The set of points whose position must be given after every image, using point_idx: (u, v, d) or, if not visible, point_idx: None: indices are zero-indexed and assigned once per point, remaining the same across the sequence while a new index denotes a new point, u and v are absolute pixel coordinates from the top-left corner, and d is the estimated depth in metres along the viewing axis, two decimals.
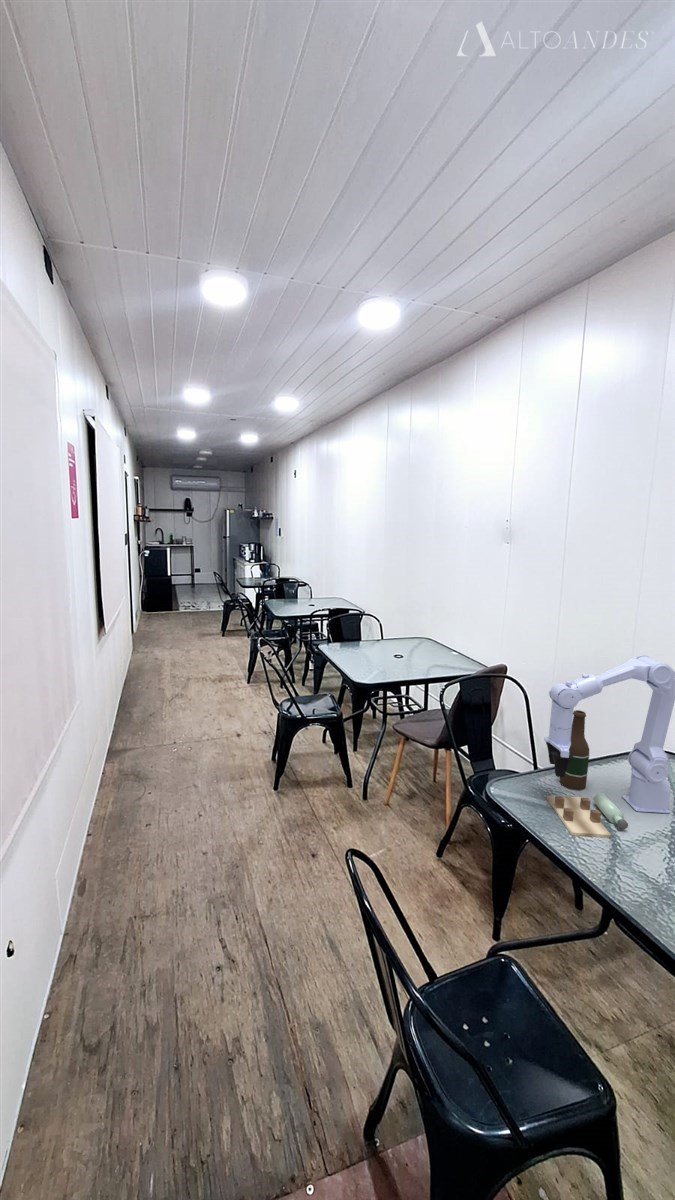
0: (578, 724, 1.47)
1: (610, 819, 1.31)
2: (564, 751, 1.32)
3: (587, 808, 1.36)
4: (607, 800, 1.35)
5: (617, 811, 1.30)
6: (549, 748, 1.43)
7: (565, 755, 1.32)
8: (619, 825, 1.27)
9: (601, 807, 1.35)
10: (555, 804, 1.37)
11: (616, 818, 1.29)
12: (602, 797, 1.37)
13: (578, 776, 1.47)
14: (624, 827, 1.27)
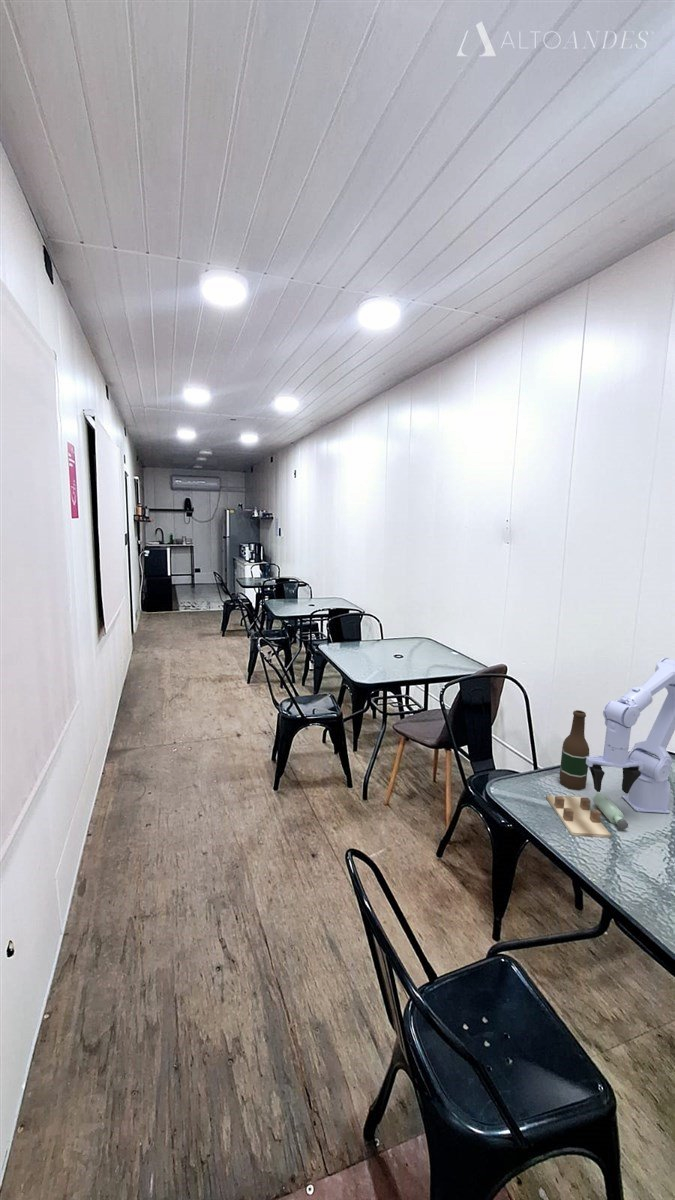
0: (578, 724, 1.47)
1: (610, 819, 1.31)
2: (587, 758, 1.33)
3: (587, 808, 1.36)
4: (607, 800, 1.35)
5: (617, 811, 1.30)
6: (623, 773, 1.34)
7: (587, 763, 1.33)
8: (619, 825, 1.27)
9: (601, 807, 1.35)
10: (555, 804, 1.37)
11: (616, 818, 1.29)
12: (602, 797, 1.37)
13: (578, 776, 1.47)
14: (624, 827, 1.27)
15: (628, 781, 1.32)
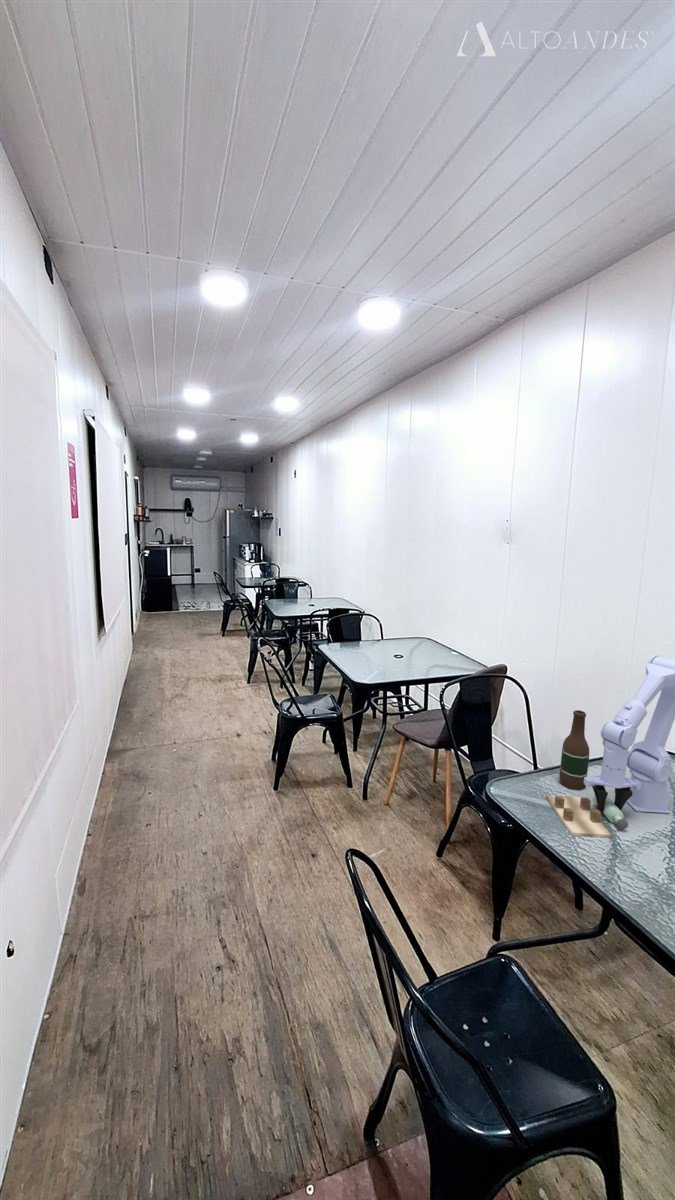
0: (578, 724, 1.47)
1: (610, 819, 1.31)
2: (585, 778, 1.34)
3: (587, 808, 1.36)
4: (607, 800, 1.35)
5: (617, 811, 1.30)
6: (615, 792, 1.35)
7: (585, 783, 1.34)
8: (619, 825, 1.27)
9: None
10: (555, 804, 1.37)
11: (616, 818, 1.29)
12: None
13: (578, 776, 1.47)
14: (624, 827, 1.27)
15: (620, 801, 1.33)
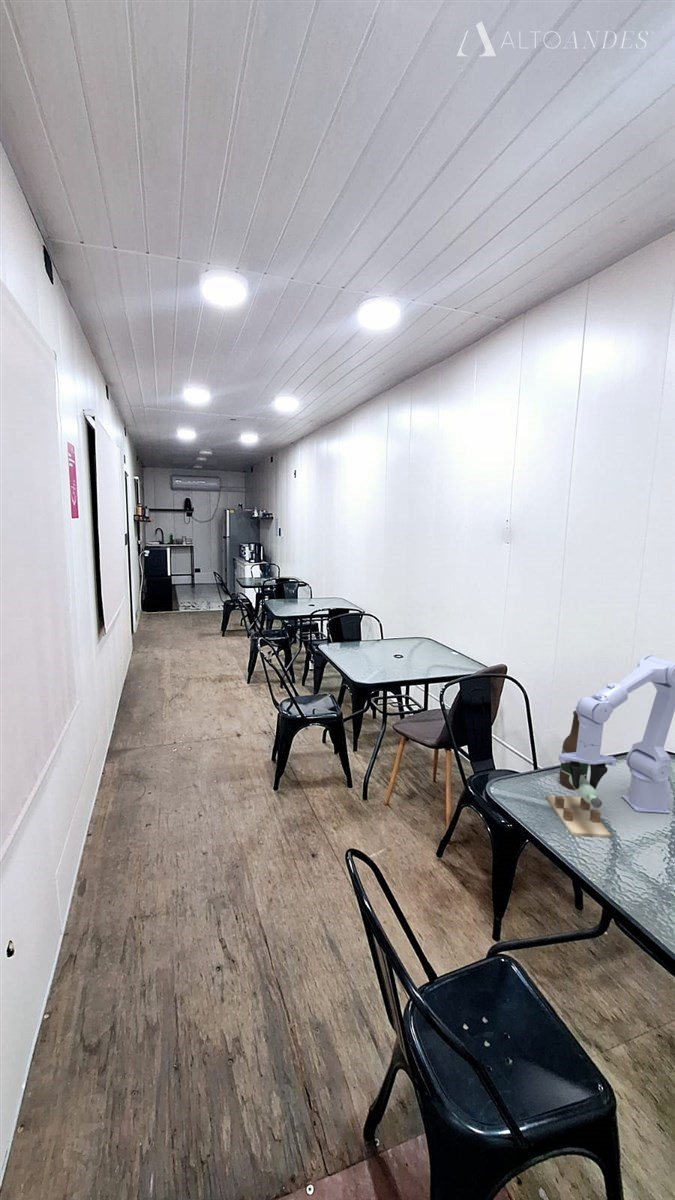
0: (578, 724, 1.47)
1: (584, 798, 1.29)
2: (560, 755, 1.32)
3: (587, 808, 1.36)
4: (582, 779, 1.33)
5: (591, 790, 1.28)
6: (591, 769, 1.33)
7: (560, 759, 1.32)
8: (593, 803, 1.25)
9: None
10: (555, 804, 1.37)
11: (590, 796, 1.27)
12: None
13: None
14: (598, 805, 1.25)
15: (595, 777, 1.31)
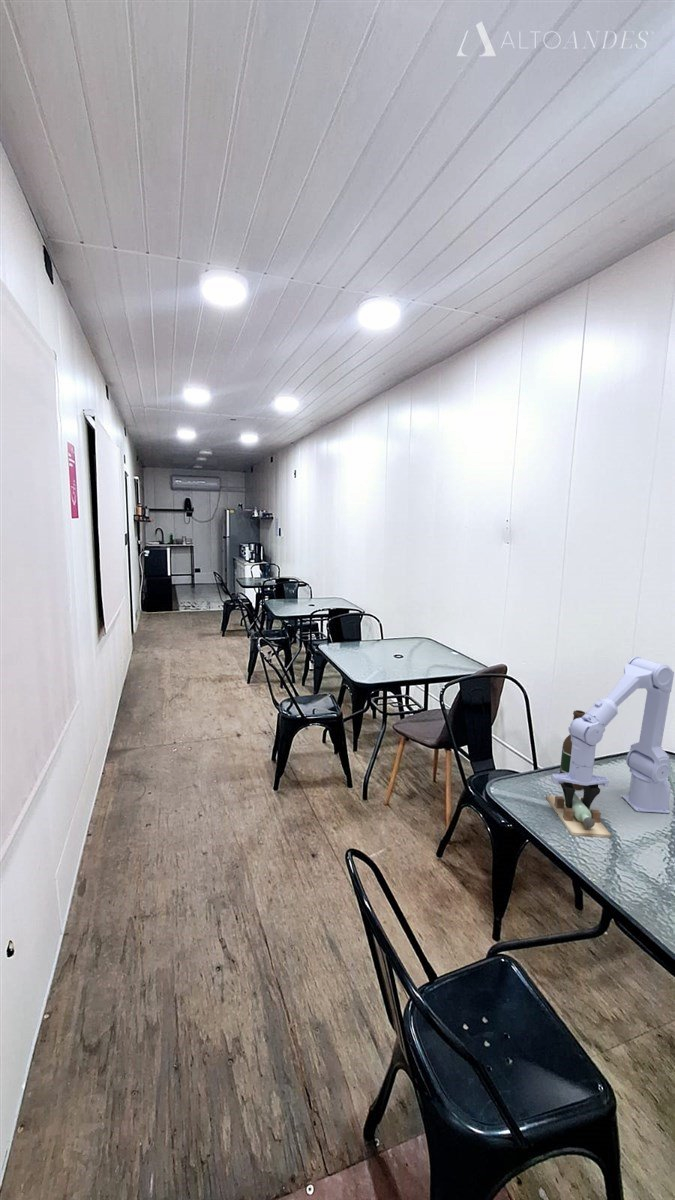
0: None
1: (577, 817, 1.30)
2: (553, 776, 1.33)
3: None
4: (576, 798, 1.34)
5: (584, 809, 1.29)
6: (584, 789, 1.34)
7: (553, 780, 1.33)
8: (585, 823, 1.26)
9: None
10: (555, 804, 1.37)
11: (583, 816, 1.28)
12: None
13: None
14: (590, 825, 1.26)
15: (588, 798, 1.32)
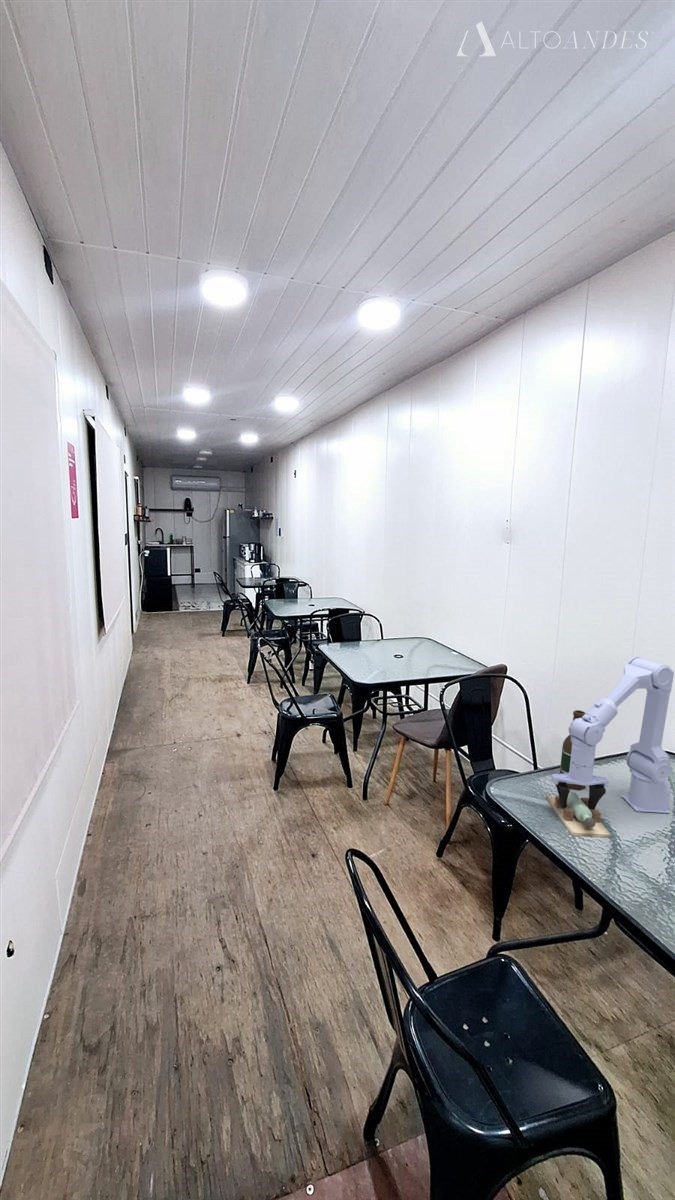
0: None
1: (578, 817, 1.29)
2: (553, 776, 1.33)
3: None
4: (577, 798, 1.34)
5: (586, 809, 1.29)
6: (589, 790, 1.34)
7: (553, 780, 1.33)
8: (586, 823, 1.26)
9: (570, 804, 1.34)
10: (555, 804, 1.37)
11: (584, 816, 1.28)
12: (573, 795, 1.36)
13: None
14: (591, 825, 1.26)
15: (594, 799, 1.32)
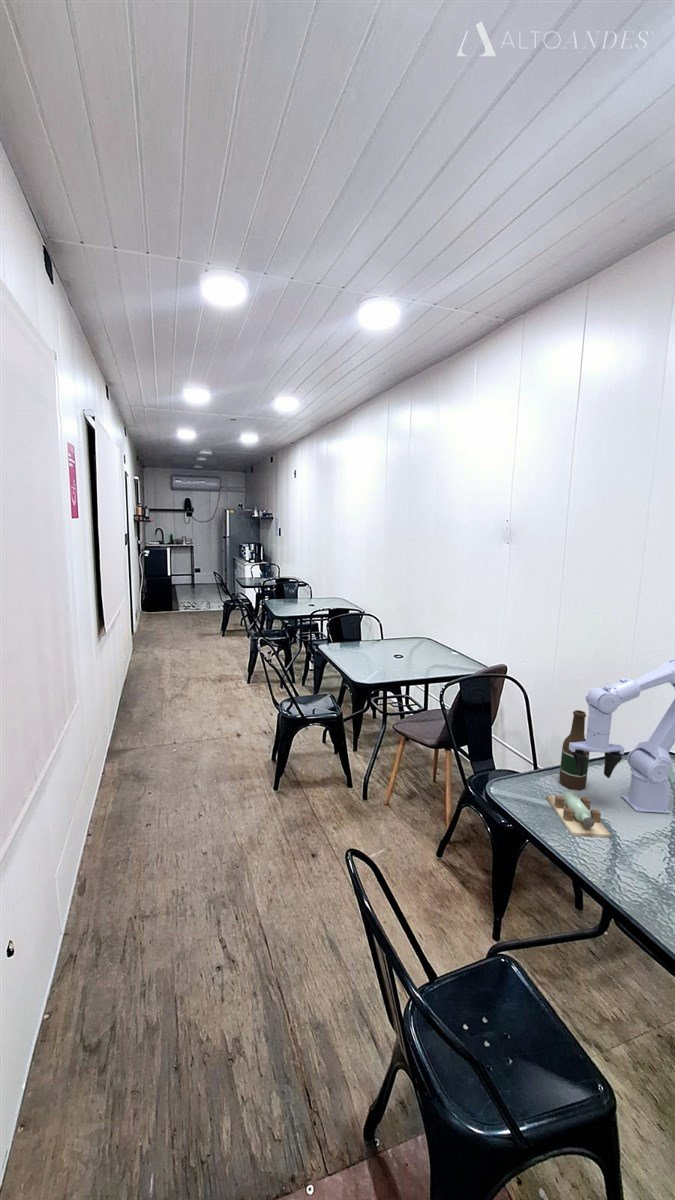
0: (578, 724, 1.47)
1: (577, 817, 1.30)
2: (570, 744, 1.37)
3: (587, 808, 1.36)
4: (575, 798, 1.34)
5: (583, 809, 1.29)
6: (605, 758, 1.39)
7: (570, 748, 1.37)
8: (585, 823, 1.26)
9: (569, 805, 1.34)
10: (555, 804, 1.37)
11: (583, 816, 1.28)
12: (571, 795, 1.36)
13: (578, 776, 1.47)
14: (590, 825, 1.26)
15: (609, 765, 1.36)
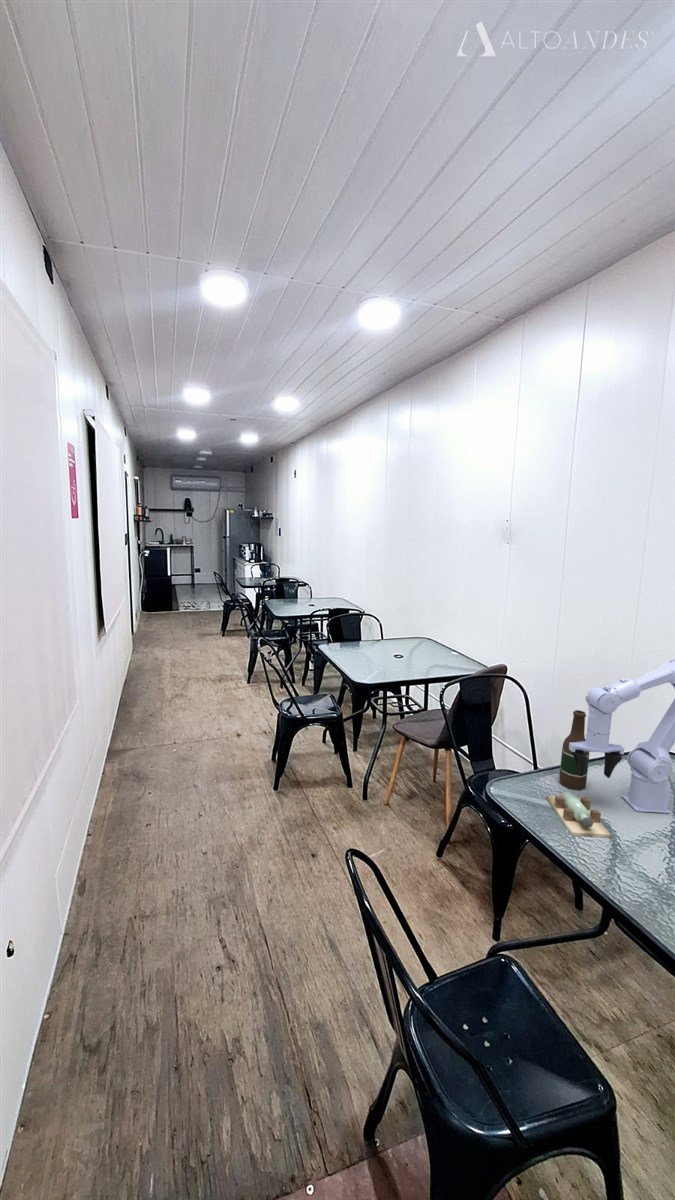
0: (578, 724, 1.47)
1: (576, 818, 1.30)
2: (570, 744, 1.37)
3: (587, 808, 1.36)
4: (573, 798, 1.34)
5: (581, 809, 1.29)
6: (605, 758, 1.39)
7: (570, 748, 1.37)
8: (584, 824, 1.26)
9: (568, 806, 1.34)
10: (555, 804, 1.37)
11: (581, 817, 1.28)
12: (568, 795, 1.36)
13: (578, 776, 1.47)
14: (589, 825, 1.26)
15: (609, 765, 1.36)
